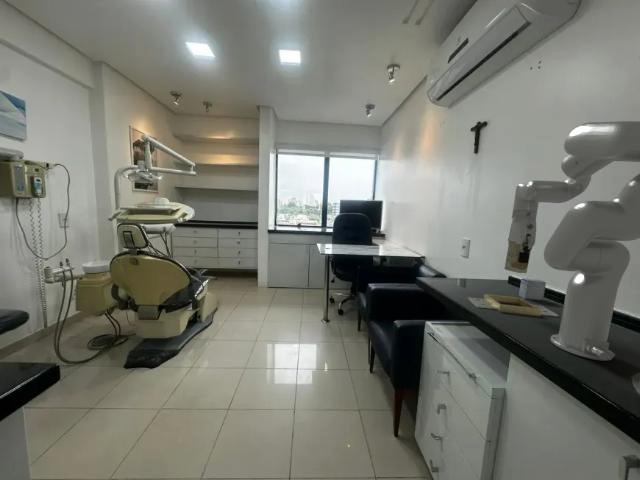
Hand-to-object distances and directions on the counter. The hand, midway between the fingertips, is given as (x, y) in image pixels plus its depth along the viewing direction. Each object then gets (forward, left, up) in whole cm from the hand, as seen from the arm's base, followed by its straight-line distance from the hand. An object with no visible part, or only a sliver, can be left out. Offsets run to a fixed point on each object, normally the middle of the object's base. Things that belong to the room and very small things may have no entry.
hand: (517, 260), depth 105 cm
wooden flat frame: (0, 0, -19) cm, 19 cm away
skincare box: (0, 0, -5) cm, 5 cm away
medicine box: (+18, -17, -20) cm, 32 cm away
